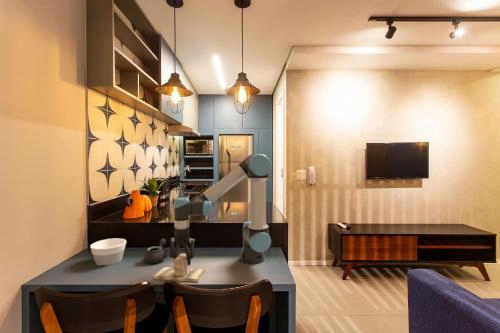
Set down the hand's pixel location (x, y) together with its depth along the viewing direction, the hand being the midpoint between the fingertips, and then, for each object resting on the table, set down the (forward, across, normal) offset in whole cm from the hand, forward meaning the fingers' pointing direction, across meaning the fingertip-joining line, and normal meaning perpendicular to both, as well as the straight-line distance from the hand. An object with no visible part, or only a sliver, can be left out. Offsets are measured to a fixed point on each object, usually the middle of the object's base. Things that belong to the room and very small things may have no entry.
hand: (182, 270), depth 136 cm
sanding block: (+1, 0, 0) cm, 1 cm away
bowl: (+3, +52, -13) cm, 54 cm away
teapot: (+3, +24, -20) cm, 31 cm away
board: (+3, +1, 0) cm, 3 cm away
